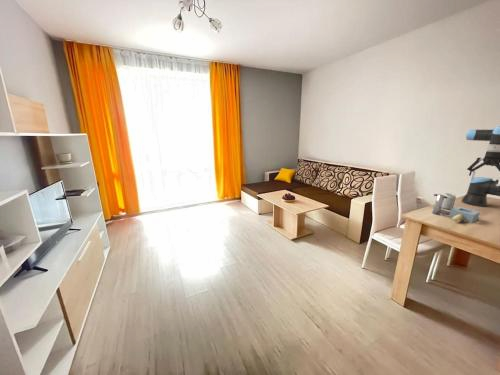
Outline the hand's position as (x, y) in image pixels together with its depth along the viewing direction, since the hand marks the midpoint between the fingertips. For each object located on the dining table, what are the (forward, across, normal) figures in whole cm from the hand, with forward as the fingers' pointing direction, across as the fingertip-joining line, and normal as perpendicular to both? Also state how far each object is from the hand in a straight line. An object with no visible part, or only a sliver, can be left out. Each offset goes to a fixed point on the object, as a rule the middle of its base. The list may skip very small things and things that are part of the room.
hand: (484, 183), depth 136 cm
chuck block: (+28, -4, -5) cm, 28 cm away
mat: (+28, -16, -1) cm, 32 cm away
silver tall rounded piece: (+28, -16, -10) cm, 33 cm away
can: (+28, -20, +11) cm, 36 cm away
